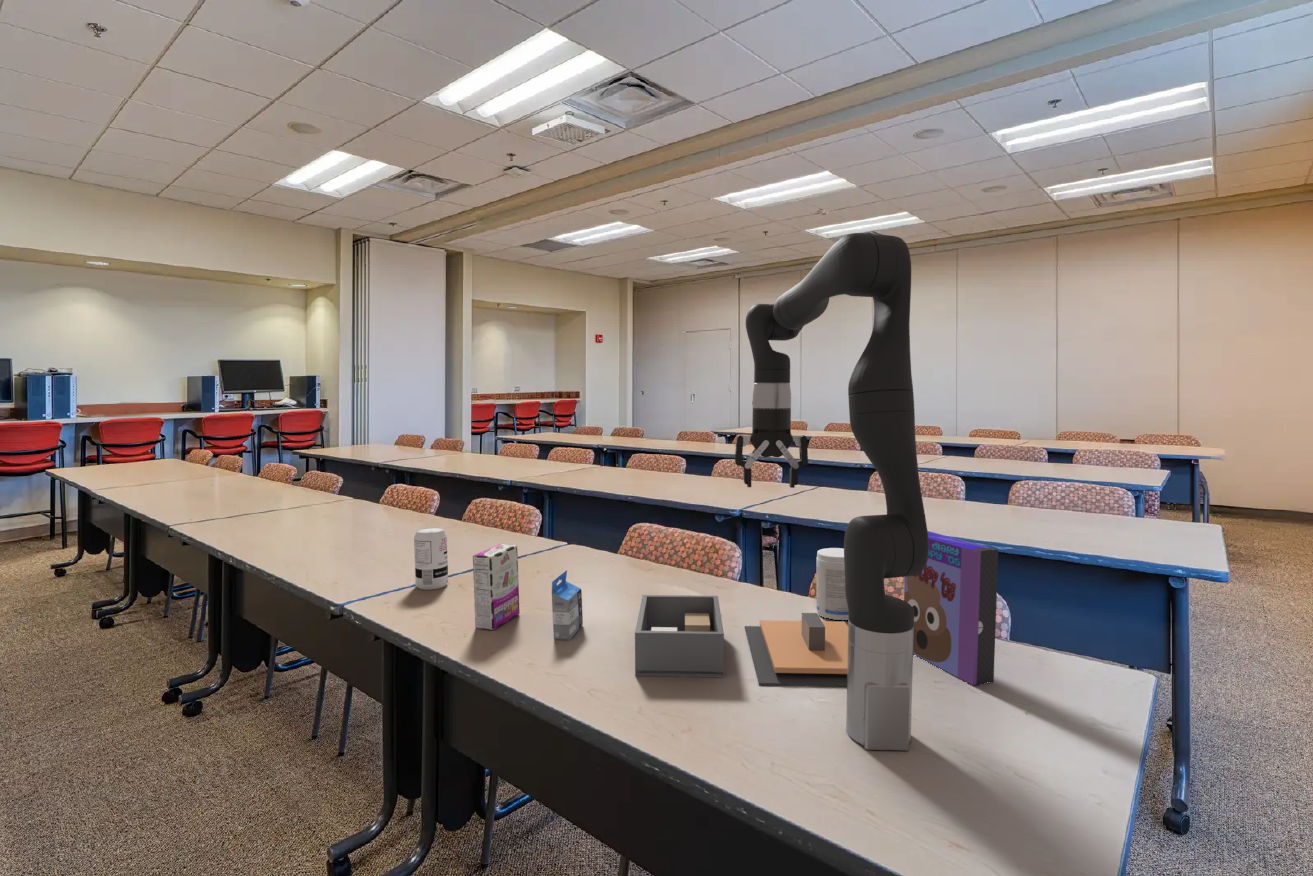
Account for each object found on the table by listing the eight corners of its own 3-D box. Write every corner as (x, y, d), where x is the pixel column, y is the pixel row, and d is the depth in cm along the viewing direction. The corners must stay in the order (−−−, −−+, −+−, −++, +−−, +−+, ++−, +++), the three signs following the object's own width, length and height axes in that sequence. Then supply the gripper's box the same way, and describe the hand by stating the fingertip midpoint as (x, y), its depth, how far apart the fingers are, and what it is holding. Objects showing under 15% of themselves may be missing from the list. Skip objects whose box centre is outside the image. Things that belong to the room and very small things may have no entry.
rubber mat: (897, 687, 115) (897, 685, 115) (759, 685, 116) (759, 683, 116) (856, 629, 143) (856, 627, 143) (744, 627, 144) (744, 626, 144)
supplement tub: (868, 617, 150) (869, 553, 149) (839, 625, 145) (840, 559, 144) (835, 605, 158) (836, 545, 157) (807, 613, 153) (807, 550, 152)
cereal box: (902, 649, 131) (905, 530, 130) (921, 646, 133) (925, 529, 131) (972, 686, 115) (977, 551, 113) (993, 682, 117) (998, 548, 115)
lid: (844, 630, 141) (844, 600, 140) (877, 680, 117) (877, 644, 116) (759, 629, 141) (759, 599, 141) (774, 678, 118) (775, 642, 117)
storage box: (717, 632, 141) (717, 595, 140) (723, 677, 119) (723, 633, 118) (642, 631, 142) (642, 595, 141) (635, 675, 120) (634, 632, 119)
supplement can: (414, 583, 177) (412, 528, 176) (446, 580, 180) (444, 525, 179) (417, 592, 170) (415, 534, 168) (450, 588, 173) (448, 531, 172)
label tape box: (570, 640, 137) (569, 582, 136) (551, 639, 137) (550, 581, 136) (583, 625, 145) (582, 570, 144) (565, 624, 146) (565, 570, 145)
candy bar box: (501, 612, 154) (499, 543, 153) (520, 614, 152) (518, 544, 151) (473, 628, 144) (471, 554, 142) (493, 631, 142) (491, 556, 141)
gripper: (737, 406, 128) (736, 489, 129) (811, 406, 127) (810, 490, 128) (734, 405, 135) (733, 484, 136) (804, 405, 134) (803, 484, 136)
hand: (770, 487), depth 132 cm, fingers open, 8 cm apart
